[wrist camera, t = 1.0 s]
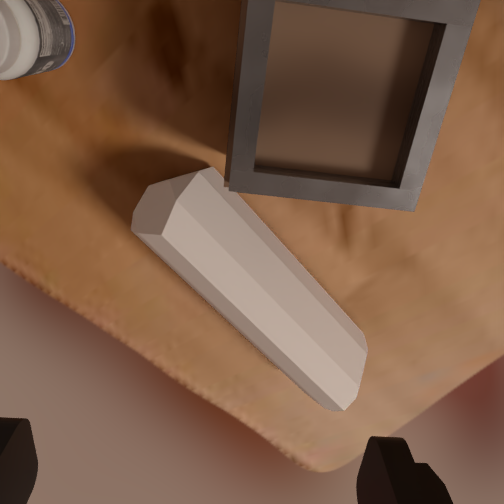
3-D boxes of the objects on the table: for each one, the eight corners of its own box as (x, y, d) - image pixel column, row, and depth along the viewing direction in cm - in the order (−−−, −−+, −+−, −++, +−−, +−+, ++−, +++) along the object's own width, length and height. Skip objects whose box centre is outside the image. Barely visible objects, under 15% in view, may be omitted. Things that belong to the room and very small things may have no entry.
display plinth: (244, -25, 26) (245, -47, 19) (420, 1, 27) (490, -10, 19) (227, 155, 31) (222, 195, 24) (376, 172, 32) (417, 217, 24)
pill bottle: (10, 71, 28) (-73, 85, 21) (-10, -14, 26) (-110, -31, 19) (83, 71, 28) (26, 85, 21) (70, -14, 26) (1, -31, 19)
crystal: (407, 362, 35) (208, 135, 27) (354, 433, 34) (125, 218, 25) (351, 336, 42) (178, 148, 34) (305, 395, 41) (111, 214, 32)
